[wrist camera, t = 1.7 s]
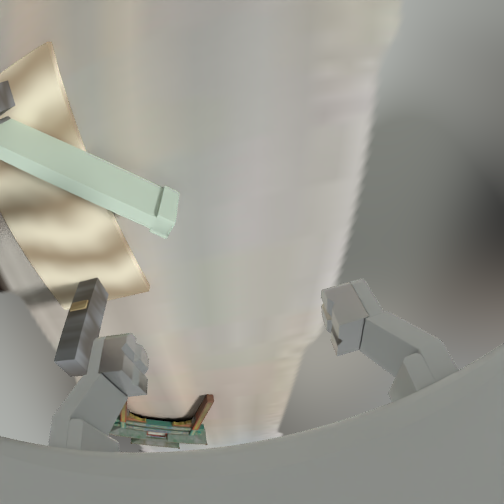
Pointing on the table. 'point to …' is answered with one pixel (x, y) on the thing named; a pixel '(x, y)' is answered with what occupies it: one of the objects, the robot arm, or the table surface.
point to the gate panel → (88, 176)
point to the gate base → (62, 215)
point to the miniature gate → (163, 428)
